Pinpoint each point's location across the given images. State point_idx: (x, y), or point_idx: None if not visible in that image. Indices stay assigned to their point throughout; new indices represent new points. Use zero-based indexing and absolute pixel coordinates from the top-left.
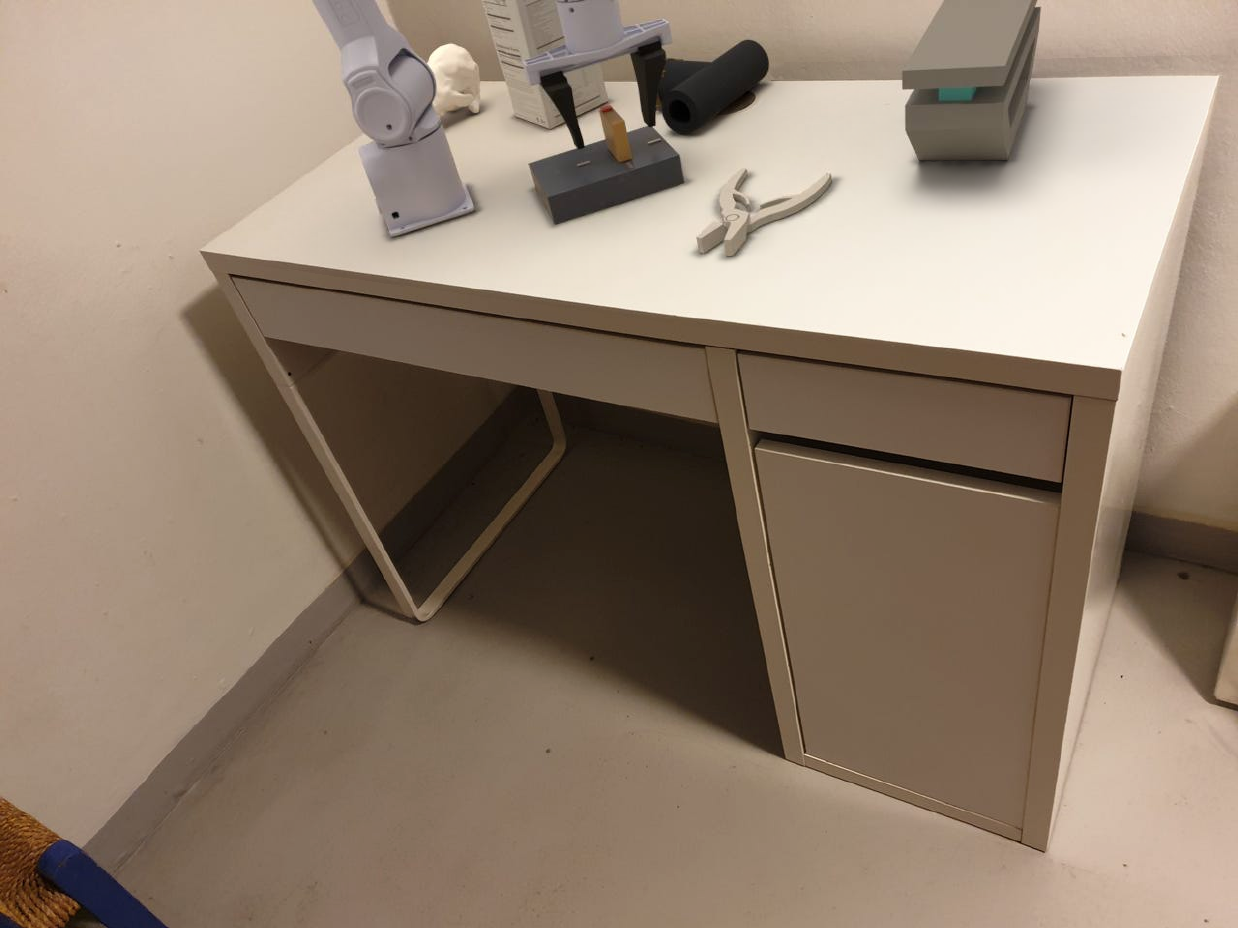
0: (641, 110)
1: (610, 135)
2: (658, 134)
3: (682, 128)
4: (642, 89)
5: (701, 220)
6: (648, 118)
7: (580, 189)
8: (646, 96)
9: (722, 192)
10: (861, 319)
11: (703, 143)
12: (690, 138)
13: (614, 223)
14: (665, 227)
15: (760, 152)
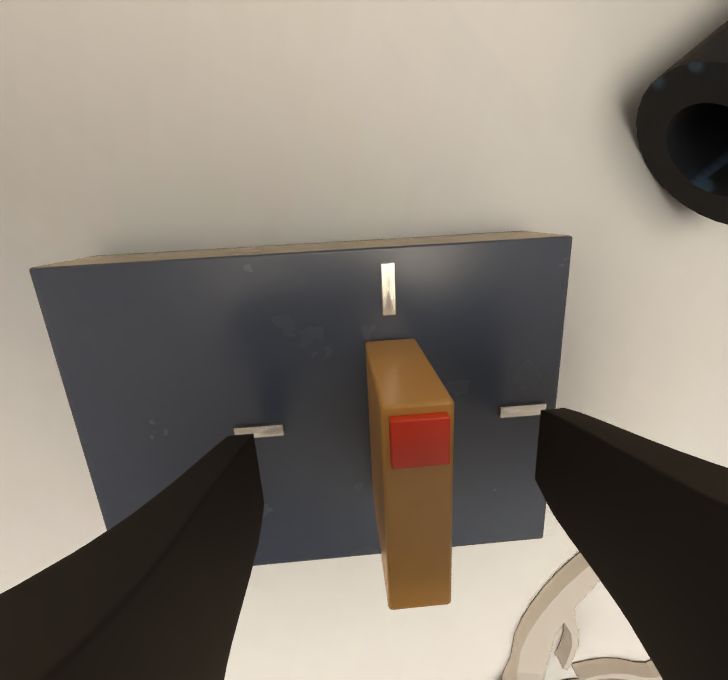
0: (566, 419)
1: (378, 501)
2: (557, 355)
3: (665, 163)
4: (647, 558)
5: (470, 642)
6: (554, 508)
7: None
8: (623, 594)
9: (549, 609)
10: None
11: (657, 276)
12: (649, 206)
13: (304, 574)
14: (399, 635)
15: (723, 433)
